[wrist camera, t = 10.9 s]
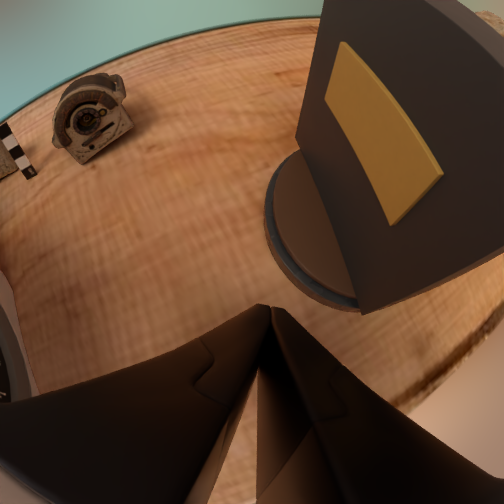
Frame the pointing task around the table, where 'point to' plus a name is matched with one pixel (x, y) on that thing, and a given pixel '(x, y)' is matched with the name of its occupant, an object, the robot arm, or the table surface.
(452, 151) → the dark upright block
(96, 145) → the mechanical counter
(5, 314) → the alarm clock
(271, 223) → the turntable base
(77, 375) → the table surface
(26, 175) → the cuneiform tablet
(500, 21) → the rock
